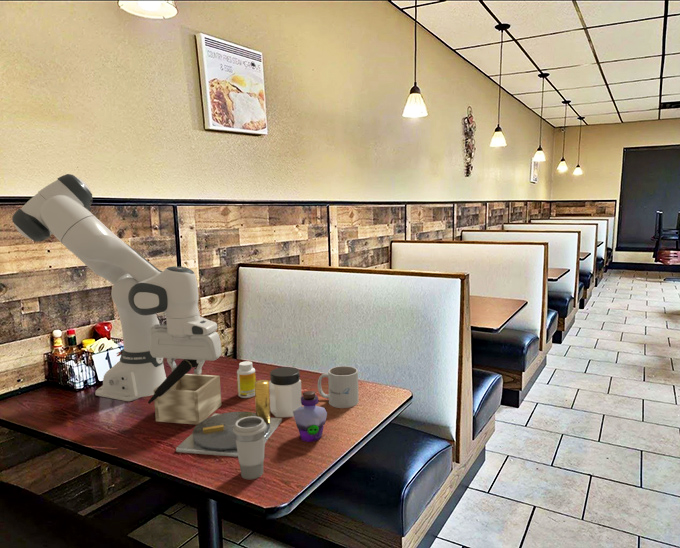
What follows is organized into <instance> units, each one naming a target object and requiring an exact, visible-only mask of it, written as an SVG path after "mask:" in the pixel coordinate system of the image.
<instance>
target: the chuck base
mask: <svg viewBox="0 0 680 548" xmlns="http://www.w3.org/2000/svg"><path fill="white" fill-rule="evenodd" d="M219 414H220V413H216V412H213V413H212V414H211V415H210V417H212V416H215V415H219ZM270 421H271V422H270V431H269V433H268V434H267V435H266V436H265V444H266V443H267V442H268V440H269V438H270V437H271V436H272V435H273V433H274V432H275V431H276V429H277V428H278V427H279V426H280V424H281V423H282V421H283V417H270ZM175 449H176V450H175V452H176V453H184V454H197V455H198V454H199V455H210V456H222V457H223V456H224V457H225V456H226V457H235V458H238V453H237V449H229V450H214V449H208V448H204V447H201V446H199V445H198V444H196V443H195V442H194V440H193V432H192V433H191V434H189V436H188V437H186V438H185V440H183V441H182V442H181V443H180V444H179V445H177V447H175Z"/></svg>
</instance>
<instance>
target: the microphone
mask: <svg viewBox="0 0 680 548" xmlns="http://www.w3.org/2000/svg"><path fill="white" fill-rule="evenodd" d="M198 364H199V363H197V360H192V359H182V360H181V362H180V363H179V364H178V365H177V367H176V368H175V369H174V370H173V372H172V371H171V373H170V374H169V375H168V376H166V379H165V380H164V382H163V383H162V384H161V385H160V386H159V387H158V388H157V389H156V391H155V394H154V395H151V396H152V397H150V399H149V400H148V401H147V403H148V404H149V405H150V404H151V403H153V402H154V400H155V399H156V398H157V397H160V396H161V395H163V394H164V393H165V392H166V391H167V390H169V389H170V388H171V387H172V386H173V385H174V384H175V383H176V382H177V381H179V380H180V379H181V378H182V377H183V376H184V375H185V374H188V372H190V370H192V369H194V368H196V367H197V366H198Z"/></svg>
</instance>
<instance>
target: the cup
mask: <svg viewBox="0 0 680 548" xmlns="http://www.w3.org/2000/svg"><path fill="white" fill-rule="evenodd" d="M266 427H267V425H266V423H265V422H264V420H263V419H262V418H261V417H257V416H249V417H244V418H241V419H239V420H238V421H236V423H235V426H234V428H233V432H234V433H235V434H236V445H237V453H238V457H237V458H238V463H239V467H240V475H241V478H243V479H245V480H255V479H258V478H260V477H262V475H264V461H265V445H266V443H265V433H264V430H265V429H266Z"/></svg>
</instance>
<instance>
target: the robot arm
mask: <svg viewBox="0 0 680 548" xmlns="http://www.w3.org/2000/svg"><path fill="white" fill-rule="evenodd" d="M92 204H93V194H92V192H91V189H90V187H89V186H88V184H87V183H86V182H85V181H84V180H83V179H81V178H80V177H78V176H76V175H74V174H70V173H67V174H64V175H61V176H59V177H57V178H56V180H55V181H53V182H51V183H49V184H47V185H46V186H45V187H43V188H42V189H40V190H39V191H38V192H37V193H36V194H35V195H34V196H32V197H31V198H30V199H29V200H28V201H27V202H26V203H25V204H24V205H23V206H21V208H18V209H16V211H15V212H14V213H13V215H12V219H11V221H12V223H13V225H14V227H15V229H16V230H17V231H18V233H19V234H21V236H22V237H24V238H26V239H28V240H31V241H34V242H43V241H46V240H48V239H49V238H51V235H53V236H54V237H55V239H57V240H58V241H59V242H60V243H61V244H62V245H63V246H64V247H65V248H66V249H67V250H69V252H71V253H72V254H73V255H74V256H76V258H78V259H79V260H80V262H81V263H83V264H84V265H85V266H86V267H87V268H89V270H90V271H92V272H93V273H94V274H95V275H96V276H99V277H101V278H103V279H105V280H107V281H108V282H110V283H111V284H112V285H113V286H112V288H111V299H112V301H113V303H114V304H115V307H116V310H117V313H118V318H119V321H120V325H121V331H122V340H123V342H122V343H123V349H122V350H120V351H118V352H116V353H115V354H116V357H120V359H119V361H118V362H117V363H115V364H114V365H113V366H112V367H111V368H110V369H108V370H107V371H106V372H105V373H104V375H103V379H102V385H101V386H100V387H98V388H97V389H96V390H95V392H94V393H95V396H98V397H103V398H108V399H112V400H113V399H114V400H119V401H124V402H131V401H136V400H139V398H145V397H150V396H153V395H154V389H155V388H157V387H158V386H160V385H161V384H162V383H163V382H164V380H165V379H166V378H167V375H166V371H165V367H164V359H166V363H167V364H168V365H169V367H170V368H171V373H172V372H173V370H174V369H175V368H176V367H177V366H178V365H177V363H176V361H175V360H178V359H179V360H184V359H192V360H197V363H199V364H198V366H197V367H195V368H193V374H194V375H202V372H203V370H202V369H203V368H202V367H203V366H204V364H205V362H206V361H211V362H212V361H213V362H214V361H216V360H217V359H219V358H220V357H221V355H222V343H221V338H220V334H219V333H218V332H217V331H216V330H218V323H217V322H215V321H212V320H211V319H207V318H205V317H202V316H201V315H200V310H199V299H200V297H199V295H200V294H199V287H198V280H197V277H196V276H197V275H196V273H195V272H194V271H193V270H192V269H191V268H189V267H185V266H168V267H166V268H165V269H164V270H161V269H159V268H157V266H155V265H153V263H151V262H150V261H149V260H148V259H146V258H145V257H144V256H143V255H142V254H141V253H139V252H138V251H137V250H136V249H134V248H133V247H131V246H130V245H129V244H127V243H126V241H123V239H121V238H120V237H119V236H117V235H116V234H115V233H114V232H113V231H112V230H111V229H110V228H108V227H107V226H106V225H105V224H104V223H103V222H102V221H101V220H99V219H98V217H96V216H95V214H93V213H92V212H91V211H92V209H91V205H92ZM160 313H161V314H162V313H164V314H165V319H166V324H160V321H159V319H158V316H157V314H160Z"/></svg>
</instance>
